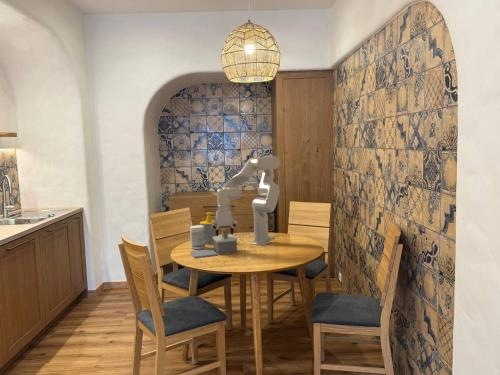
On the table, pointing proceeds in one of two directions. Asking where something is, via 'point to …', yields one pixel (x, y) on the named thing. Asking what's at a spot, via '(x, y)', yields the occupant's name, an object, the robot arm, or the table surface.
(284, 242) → the table surface
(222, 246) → the parts tub
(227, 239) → the lid
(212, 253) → the mat
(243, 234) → the table surface
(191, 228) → the supplement tub
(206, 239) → the soap bottle
